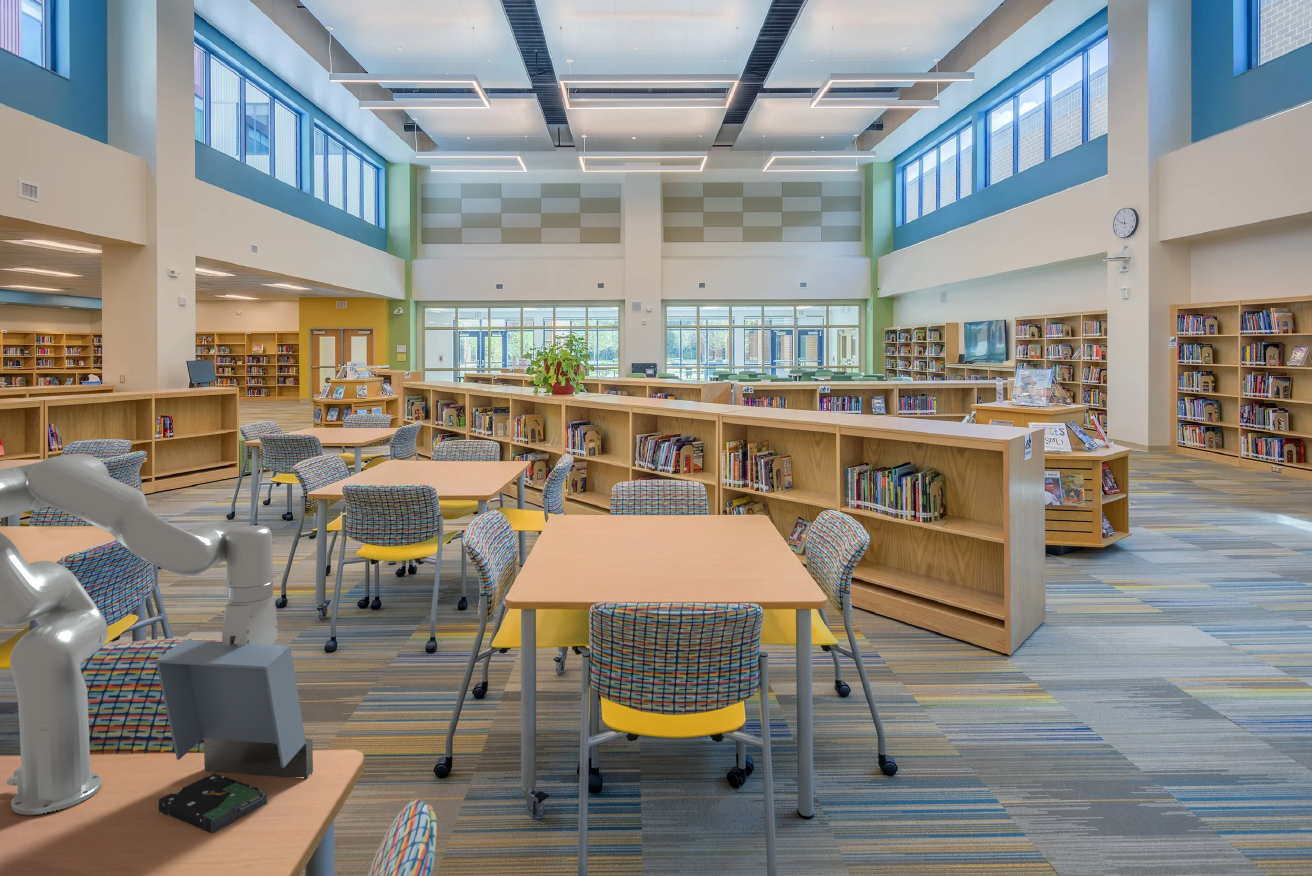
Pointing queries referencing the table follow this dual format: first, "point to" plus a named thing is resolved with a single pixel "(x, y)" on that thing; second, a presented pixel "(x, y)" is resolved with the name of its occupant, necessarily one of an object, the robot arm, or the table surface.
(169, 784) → the table surface
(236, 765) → the long flat gray bar
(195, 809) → the disk drive
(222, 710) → the cover
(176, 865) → the table surface
